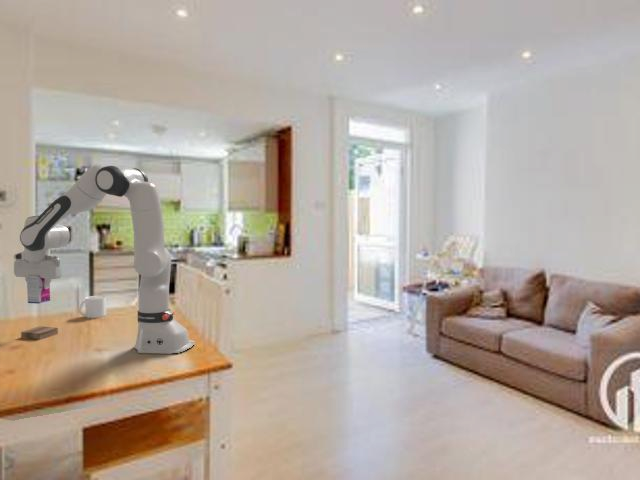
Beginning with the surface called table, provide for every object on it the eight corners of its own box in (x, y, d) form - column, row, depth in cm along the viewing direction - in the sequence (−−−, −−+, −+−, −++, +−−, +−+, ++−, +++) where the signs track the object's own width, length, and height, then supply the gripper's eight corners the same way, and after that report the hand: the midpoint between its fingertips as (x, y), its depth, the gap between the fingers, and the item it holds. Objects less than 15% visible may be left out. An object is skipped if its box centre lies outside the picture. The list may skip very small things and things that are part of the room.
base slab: (57, 333, 183) (57, 327, 183) (39, 339, 174) (39, 333, 174) (39, 331, 185) (39, 326, 185) (21, 337, 176) (21, 331, 176)
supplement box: (39, 303, 175) (37, 275, 174) (27, 303, 176) (25, 275, 175) (51, 300, 181) (49, 273, 180) (39, 300, 182) (37, 273, 181)
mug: (104, 313, 219) (103, 295, 219) (107, 316, 212) (107, 298, 211) (77, 316, 212) (76, 297, 211) (80, 320, 205) (79, 300, 204)
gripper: (65, 255, 178) (66, 288, 179) (23, 253, 182) (24, 285, 183) (52, 256, 172) (53, 291, 173) (10, 255, 176) (11, 288, 177)
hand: (38, 288), depth 178 cm, fingers closed on supplement box, 6 cm apart
